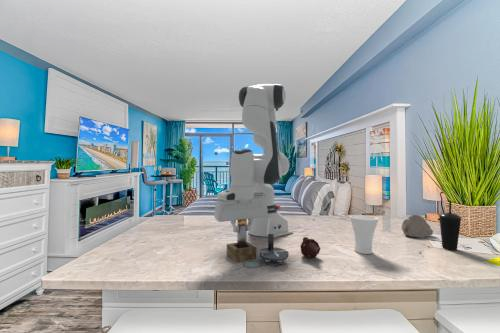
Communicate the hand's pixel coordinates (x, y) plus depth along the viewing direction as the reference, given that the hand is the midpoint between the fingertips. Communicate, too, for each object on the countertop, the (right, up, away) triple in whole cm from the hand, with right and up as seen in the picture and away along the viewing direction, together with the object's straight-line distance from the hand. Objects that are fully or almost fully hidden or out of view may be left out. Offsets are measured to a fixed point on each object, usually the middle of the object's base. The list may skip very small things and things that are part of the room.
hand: (241, 231), depth 95 cm
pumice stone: (+85, -11, +33) cm, 92 cm away
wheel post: (+11, -9, -5) cm, 15 cm away
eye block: (0, -9, -1) cm, 9 cm away
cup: (+48, -10, +7) cm, 49 cm away
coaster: (+4, -9, -8) cm, 13 cm away
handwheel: (+11, -7, -5) cm, 14 cm away
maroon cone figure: (+25, -10, 0) cm, 27 cm away
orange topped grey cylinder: (0, -7, 0) cm, 7 cm away
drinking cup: (+86, -11, +12) cm, 87 cm away
